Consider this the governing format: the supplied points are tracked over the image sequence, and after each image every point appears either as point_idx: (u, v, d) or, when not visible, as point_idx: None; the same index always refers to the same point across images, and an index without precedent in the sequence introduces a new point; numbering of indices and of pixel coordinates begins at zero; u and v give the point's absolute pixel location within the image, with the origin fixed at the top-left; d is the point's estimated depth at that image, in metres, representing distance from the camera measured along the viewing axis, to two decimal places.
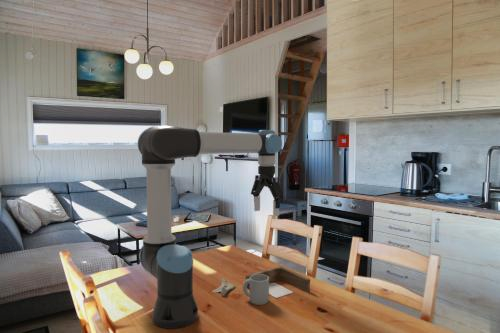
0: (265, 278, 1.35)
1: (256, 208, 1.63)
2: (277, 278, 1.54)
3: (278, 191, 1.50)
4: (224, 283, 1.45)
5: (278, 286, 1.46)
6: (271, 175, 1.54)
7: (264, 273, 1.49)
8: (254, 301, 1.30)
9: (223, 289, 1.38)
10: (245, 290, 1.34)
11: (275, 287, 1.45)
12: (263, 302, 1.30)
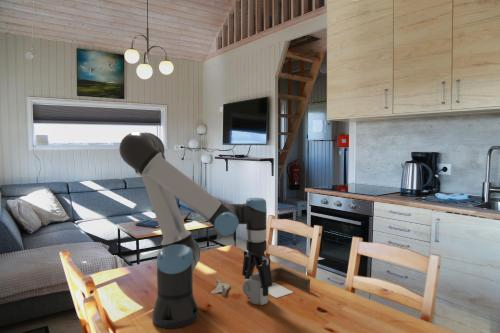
0: None
1: None
2: (277, 278, 1.54)
3: (267, 277, 1.27)
4: (220, 283, 1.45)
5: (278, 286, 1.46)
6: (261, 253, 1.29)
7: None
8: (254, 301, 1.30)
9: (224, 289, 1.38)
10: (245, 290, 1.34)
11: (275, 287, 1.45)
12: None
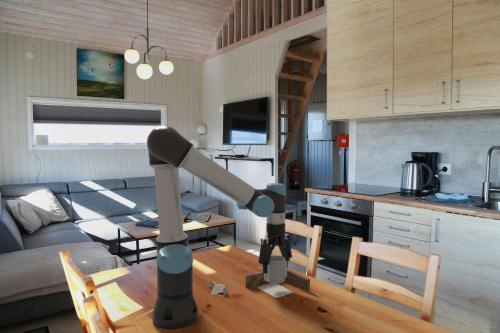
0: None
1: None
2: None
3: (260, 254, 1.38)
4: (216, 284, 1.44)
5: (278, 286, 1.46)
6: (268, 233, 1.40)
7: None
8: None
9: (225, 289, 1.38)
10: None
11: (275, 287, 1.45)
12: None
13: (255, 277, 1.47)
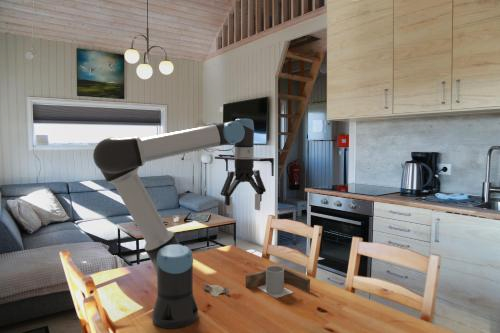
0: None
1: (255, 206, 1.46)
2: None
3: (224, 186, 1.36)
4: (212, 286, 1.43)
5: None
6: (235, 169, 1.39)
7: (264, 273, 1.49)
8: None
9: (227, 288, 1.39)
10: None
11: None
12: (267, 290, 1.40)
13: (255, 277, 1.47)
